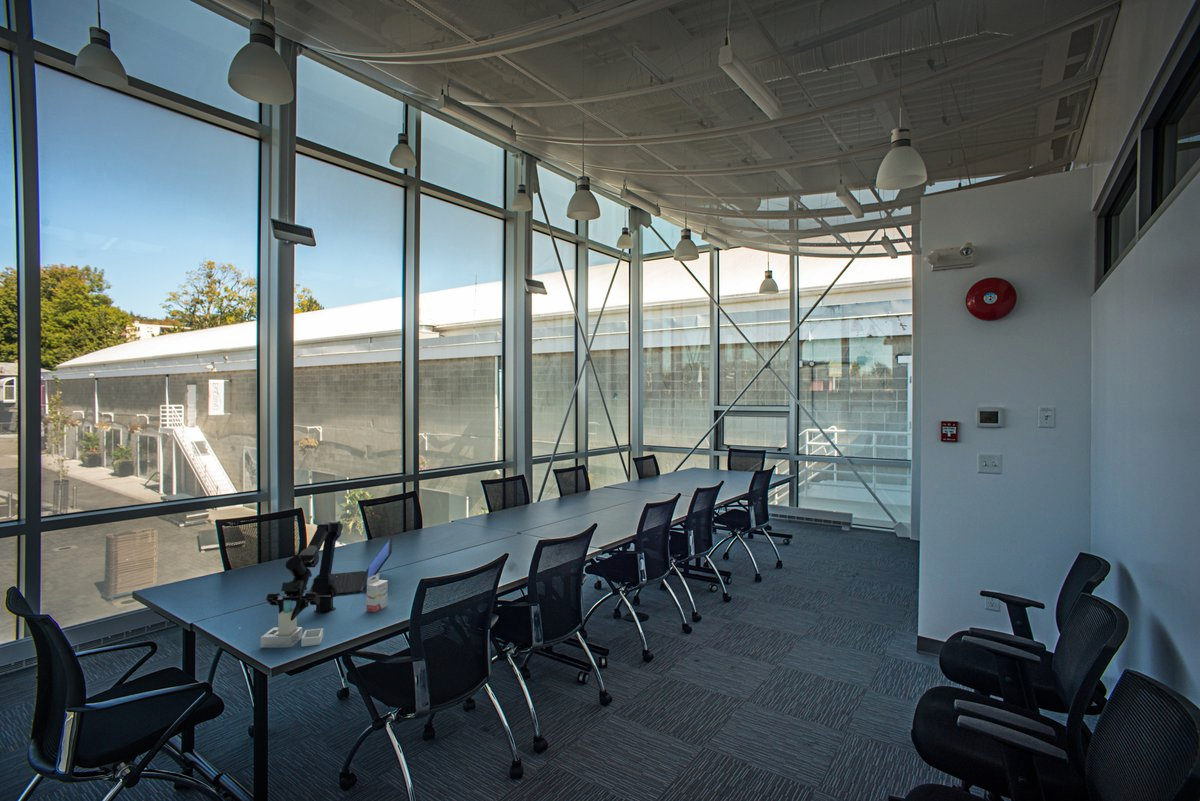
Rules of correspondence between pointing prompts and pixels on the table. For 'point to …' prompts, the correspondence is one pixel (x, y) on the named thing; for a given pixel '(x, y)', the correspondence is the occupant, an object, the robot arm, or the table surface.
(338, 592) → the laptop
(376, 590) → the ink cartridge box
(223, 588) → the table surface
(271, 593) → the robot arm
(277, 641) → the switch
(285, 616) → the plug
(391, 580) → the table surface
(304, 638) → the box
